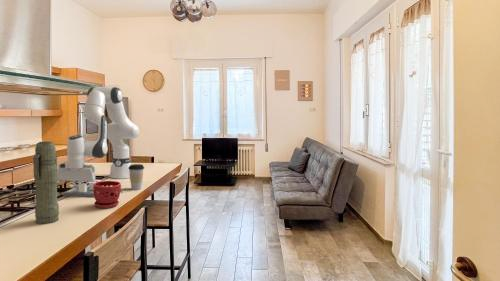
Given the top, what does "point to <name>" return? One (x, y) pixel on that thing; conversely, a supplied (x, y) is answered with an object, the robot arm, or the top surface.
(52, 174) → the thermos
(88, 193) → the breaker panel
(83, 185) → the lever
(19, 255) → the top surface
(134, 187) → the coffee cup
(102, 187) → the plant pot
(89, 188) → the middle lever
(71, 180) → the robot arm
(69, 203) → the top surface
